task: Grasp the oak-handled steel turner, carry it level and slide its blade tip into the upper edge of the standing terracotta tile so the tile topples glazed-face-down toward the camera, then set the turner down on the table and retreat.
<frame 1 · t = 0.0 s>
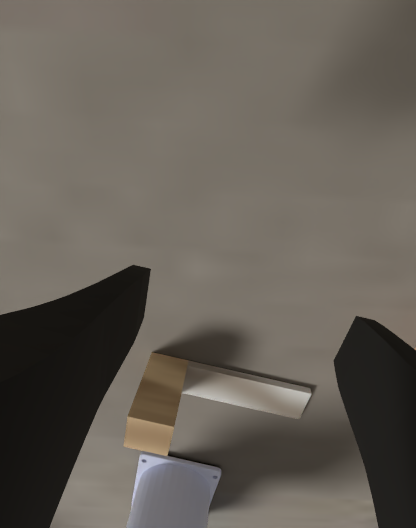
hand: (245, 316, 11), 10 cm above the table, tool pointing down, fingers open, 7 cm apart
turner: (167, 370, 26), on the table
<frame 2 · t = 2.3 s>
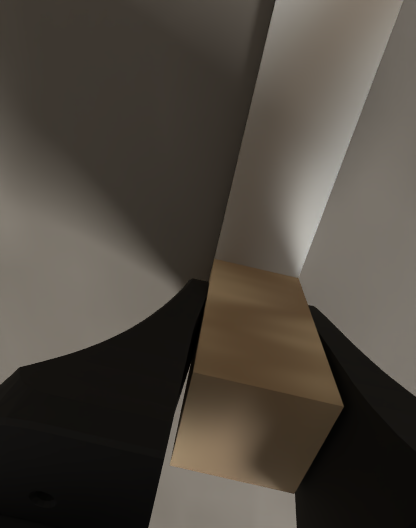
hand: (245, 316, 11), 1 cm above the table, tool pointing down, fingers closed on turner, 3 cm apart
turner: (245, 295, 12), on the table, touching gripper
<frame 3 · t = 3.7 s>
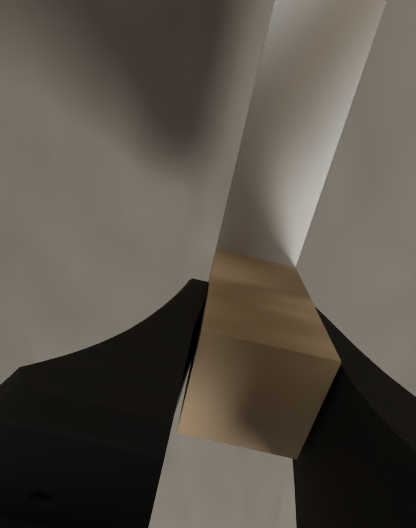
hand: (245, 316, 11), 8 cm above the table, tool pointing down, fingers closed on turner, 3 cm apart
turner: (245, 287, 13), point 6 cm above the table, touching gripper
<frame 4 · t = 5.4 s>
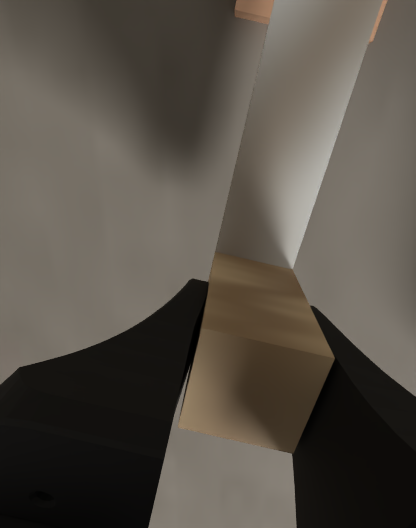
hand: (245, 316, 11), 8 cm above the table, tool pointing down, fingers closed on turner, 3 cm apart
tile: (300, 30, 14), on the table, tilted 90°
turner: (243, 288, 13), point 6 cm above the table, touching gripper
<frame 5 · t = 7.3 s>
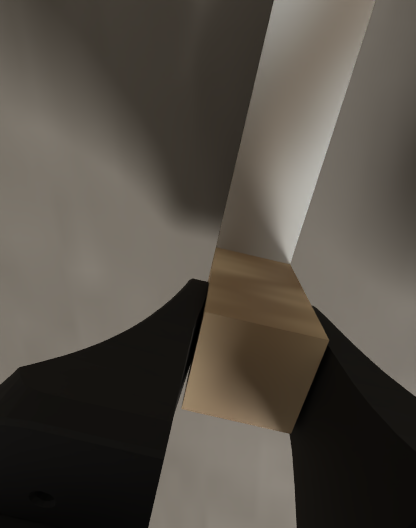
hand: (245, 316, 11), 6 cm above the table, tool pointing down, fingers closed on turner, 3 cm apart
turner: (243, 283, 14), point 3 cm above the table, tilted 6°, touching gripper
when the fingers open (2 cm above the table, at t = 8.2 s): turner stays where it is, on the table.
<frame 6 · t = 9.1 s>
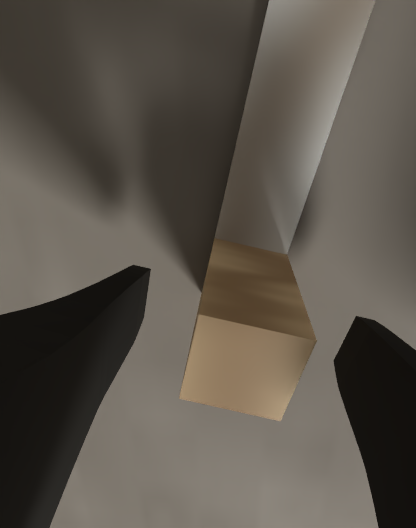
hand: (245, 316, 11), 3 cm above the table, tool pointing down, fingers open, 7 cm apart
turner: (241, 272, 14), on the table
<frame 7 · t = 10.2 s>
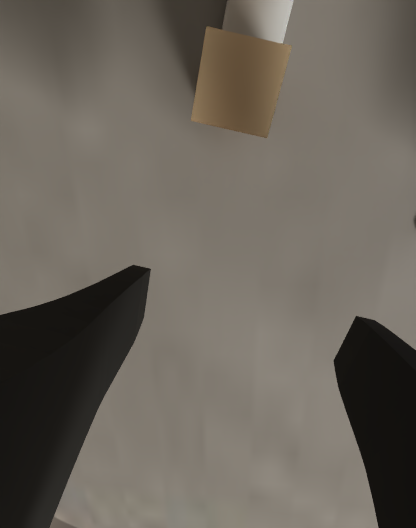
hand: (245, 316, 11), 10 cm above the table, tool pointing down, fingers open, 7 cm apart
turner: (239, 95, 17), on the table
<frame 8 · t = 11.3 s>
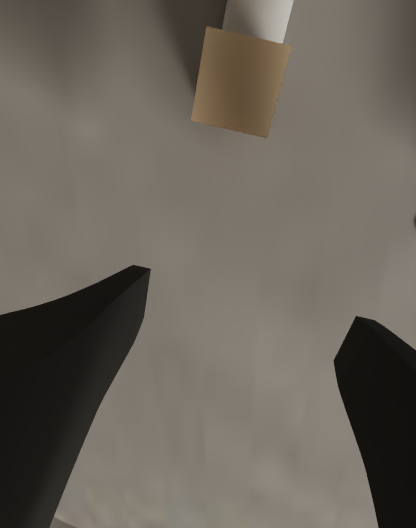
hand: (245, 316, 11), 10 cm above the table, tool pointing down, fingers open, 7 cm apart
turner: (239, 95, 17), on the table
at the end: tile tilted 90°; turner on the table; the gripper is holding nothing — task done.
